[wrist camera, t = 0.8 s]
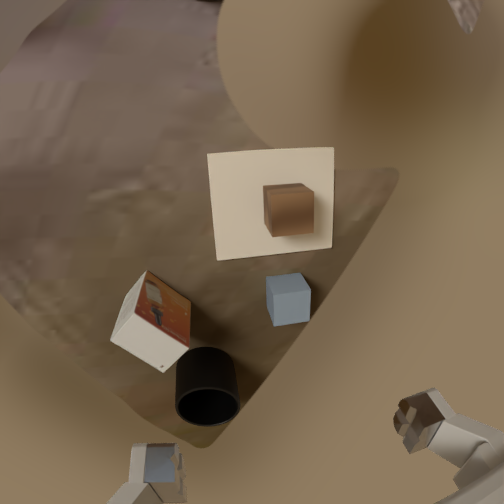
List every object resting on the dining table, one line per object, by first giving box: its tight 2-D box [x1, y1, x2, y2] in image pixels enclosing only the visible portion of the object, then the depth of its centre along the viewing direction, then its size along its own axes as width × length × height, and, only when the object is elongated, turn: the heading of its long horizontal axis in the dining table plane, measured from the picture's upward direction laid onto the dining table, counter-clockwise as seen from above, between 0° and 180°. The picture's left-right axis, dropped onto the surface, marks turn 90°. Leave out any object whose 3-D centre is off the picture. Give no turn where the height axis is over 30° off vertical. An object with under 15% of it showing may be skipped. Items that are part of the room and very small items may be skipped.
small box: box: [111, 271, 191, 373], centre depth 40 cm, size 8×6×10 cm
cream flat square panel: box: [207, 147, 334, 261], centre depth 41 cm, size 14×16×1 cm
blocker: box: [263, 183, 314, 237], centre depth 39 cm, size 5×5×5 cm
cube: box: [266, 273, 311, 326], centre depth 45 cm, size 5×5×5 cm
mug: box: [175, 347, 240, 426], centre depth 47 cm, size 9×12×9 cm
